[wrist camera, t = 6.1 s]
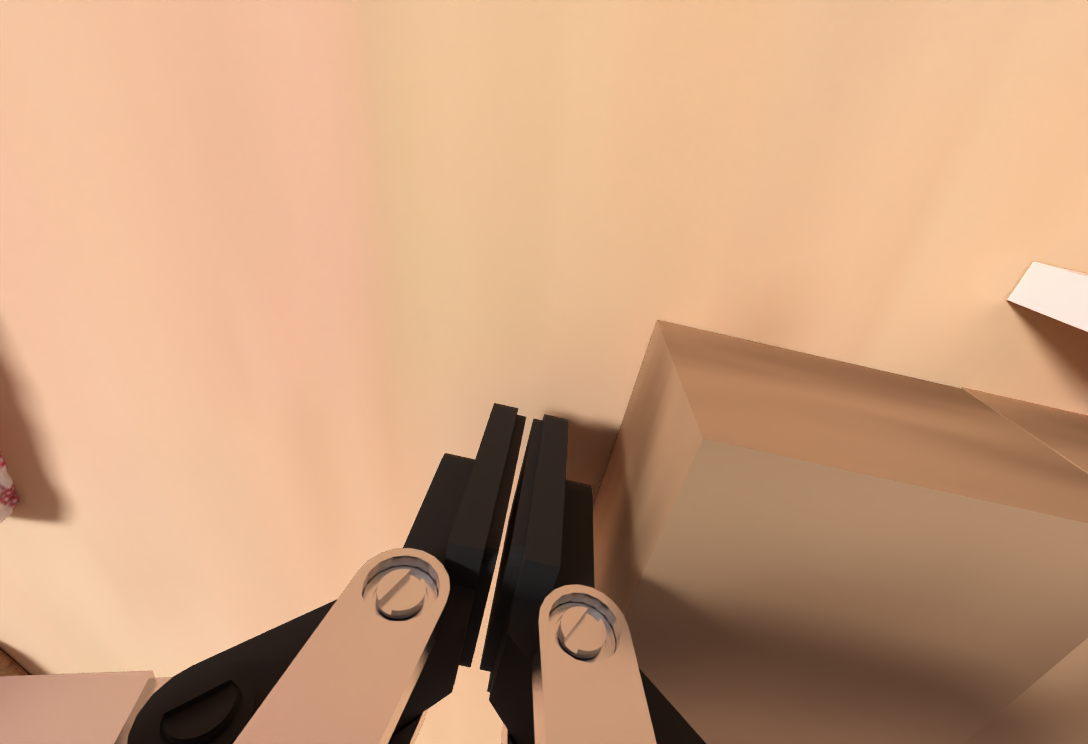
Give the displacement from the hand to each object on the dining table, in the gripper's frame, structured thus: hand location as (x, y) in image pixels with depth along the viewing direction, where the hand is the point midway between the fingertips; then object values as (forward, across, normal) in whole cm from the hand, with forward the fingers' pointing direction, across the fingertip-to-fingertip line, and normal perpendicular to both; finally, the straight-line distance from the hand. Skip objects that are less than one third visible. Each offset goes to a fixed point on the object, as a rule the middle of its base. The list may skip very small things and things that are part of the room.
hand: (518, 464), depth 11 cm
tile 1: (+1, -6, 0) cm, 6 cm away
